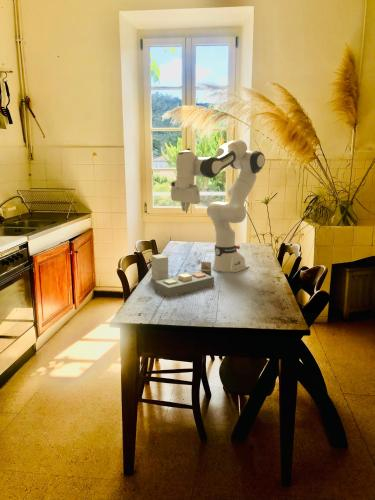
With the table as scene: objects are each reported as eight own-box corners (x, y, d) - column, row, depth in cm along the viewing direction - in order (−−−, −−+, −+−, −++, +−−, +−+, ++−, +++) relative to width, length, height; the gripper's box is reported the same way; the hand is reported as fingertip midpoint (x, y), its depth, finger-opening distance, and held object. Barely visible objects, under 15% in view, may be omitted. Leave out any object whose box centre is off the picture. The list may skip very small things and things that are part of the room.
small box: (168, 280, 208) (168, 257, 205) (157, 282, 205) (157, 258, 202) (162, 276, 215) (161, 253, 212) (151, 278, 212) (150, 255, 209)
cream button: (186, 280, 200) (186, 273, 199) (191, 283, 196) (191, 275, 195) (178, 282, 197) (178, 275, 196) (184, 285, 193) (184, 277, 192)
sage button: (171, 286, 195) (171, 279, 194) (177, 289, 191) (177, 281, 190) (163, 288, 192) (163, 280, 191) (169, 291, 188) (169, 283, 188)
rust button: (199, 280, 206) (199, 272, 205) (205, 282, 202) (205, 275, 201) (192, 281, 203) (192, 274, 202) (198, 284, 199) (198, 276, 198)
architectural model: (210, 276, 217) (210, 263, 215) (198, 275, 218) (198, 263, 216) (211, 275, 220) (211, 262, 218) (199, 274, 222) (199, 261, 220)
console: (199, 279, 210) (199, 271, 209) (213, 285, 201) (214, 277, 200) (155, 290, 194) (155, 281, 193) (168, 296, 184) (168, 287, 183)
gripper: (203, 184, 191) (202, 213, 194) (178, 182, 206) (178, 208, 210) (192, 185, 187) (192, 214, 190) (168, 182, 203) (168, 209, 206)
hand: (185, 211), depth 200 cm, fingers closed
